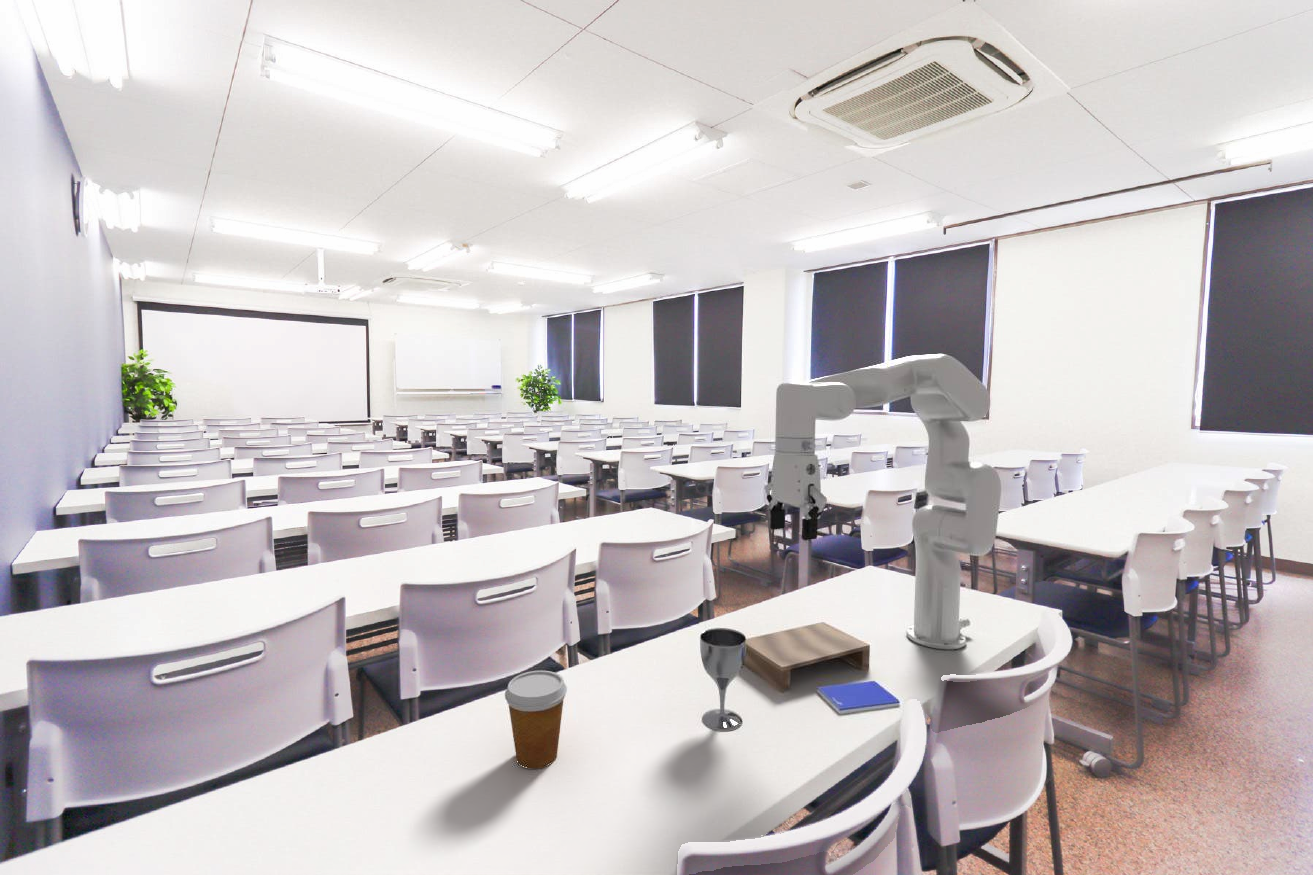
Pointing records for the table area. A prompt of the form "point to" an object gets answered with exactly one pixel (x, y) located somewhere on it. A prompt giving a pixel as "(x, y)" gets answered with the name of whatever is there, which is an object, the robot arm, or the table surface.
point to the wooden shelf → (801, 651)
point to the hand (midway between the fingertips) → (792, 533)
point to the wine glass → (722, 671)
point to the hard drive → (857, 697)
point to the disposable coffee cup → (536, 716)
